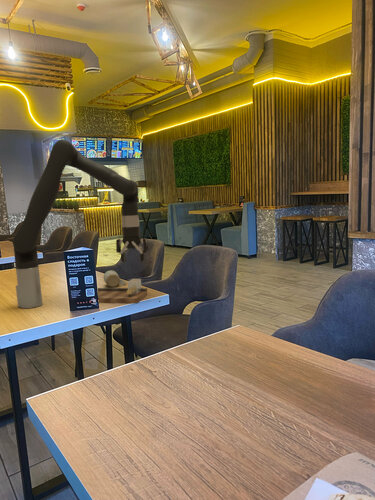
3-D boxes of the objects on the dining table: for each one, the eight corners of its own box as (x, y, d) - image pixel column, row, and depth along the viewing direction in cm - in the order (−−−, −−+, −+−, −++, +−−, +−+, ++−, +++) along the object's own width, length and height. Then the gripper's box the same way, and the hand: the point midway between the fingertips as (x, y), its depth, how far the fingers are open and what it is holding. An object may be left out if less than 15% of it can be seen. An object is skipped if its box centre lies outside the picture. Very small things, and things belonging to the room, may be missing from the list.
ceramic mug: (106, 288, 195) (105, 273, 194) (103, 285, 203) (103, 270, 202) (127, 286, 199) (126, 271, 198) (123, 283, 206) (123, 269, 205)
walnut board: (85, 302, 170) (85, 295, 170) (99, 294, 184) (99, 287, 183) (137, 303, 165) (136, 296, 164) (147, 294, 178) (147, 288, 178)
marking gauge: (124, 297, 167) (123, 284, 167) (133, 291, 178) (132, 278, 177) (133, 297, 167) (132, 284, 166) (141, 291, 177) (140, 278, 176)
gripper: (148, 224, 172) (150, 260, 174) (119, 225, 175) (121, 260, 177) (143, 226, 165) (145, 263, 167) (112, 226, 168) (114, 263, 170)
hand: (133, 261), depth 172 cm, fingers open, 8 cm apart
